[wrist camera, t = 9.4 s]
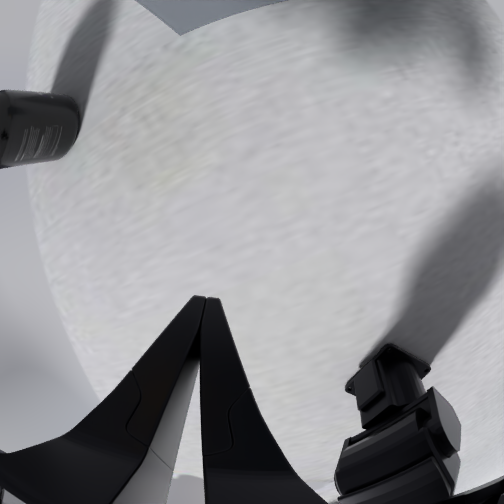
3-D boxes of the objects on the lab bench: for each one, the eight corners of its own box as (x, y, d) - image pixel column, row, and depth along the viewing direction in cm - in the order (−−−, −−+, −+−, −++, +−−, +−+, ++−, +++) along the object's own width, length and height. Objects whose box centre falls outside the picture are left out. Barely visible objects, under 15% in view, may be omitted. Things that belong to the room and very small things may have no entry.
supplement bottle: (75, 82, 19) (-24, 70, 8) (88, 139, 21) (-24, 148, 9) (37, 118, 21) (-51, 123, 10) (48, 171, 22) (-46, 193, 11)
